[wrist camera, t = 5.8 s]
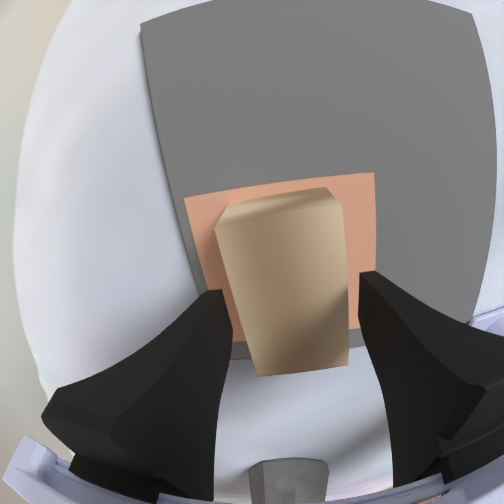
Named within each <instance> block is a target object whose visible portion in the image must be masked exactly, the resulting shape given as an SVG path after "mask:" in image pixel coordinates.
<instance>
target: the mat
mask: <svg viewBox="0 0 504 504" xmlns="http://www.w3.org/2000/svg"><path fill="white" fill-rule="evenodd" d="M140 27H141V35H142V43H143V50H144V57H145V64H146V70H147V76H148V82H149V88H150V94H151V100H152V105H153V110H154V116H155V121H156V126H157V131H158V136H159V140H160V145H161V150H162V154H163V159H164V163H165V168H166V172H167V176H168V180H169V185H170V189H171V193H172V197H173V201H174V205H175V209H176V213H177V216H178V220H179V224H180V228H181V231H182V235H183V239H184V242H185V246H186V249H187V253H188V256H189V260H190V263H191V267H192V270H193V273H194V277H195V280H196V283H197V286H198V290H199V293H200V296H201V295H202V294H203V293H204V292H205V291H206V290H215V289H222V291H223V295H224V298H225V302H226V306H227V309H228V313H229V317H230V320H231V324H232V327H233V341H232V351H231V356H230V360H237V359H252V357H251V354H250V350H249V347H248V344H247V341H246V337H245V334H244V331H243V327H242V324H241V321H240V317H239V314H238V311H237V307H236V304H235V301H234V297H233V294H232V290H231V287H230V283H229V280H228V276H227V273H226V269H225V266H224V262H223V259H222V255H221V252H220V248H219V244H218V241H217V237H216V233H215V230H214V228H215V226H216V224H217V222H218V221H219V219H220V217H221V216H222V214H223V212H224V210H225V209H226V207H227V205H228V204H229V203H231V202H236V201H242V200H247V199H252V198H258V197H263V196H269V195H275V194H281V193H287V192H293V191H299V190H305V189H312V188H319V187H325V186H326V188H327V189H328V190H329V191H330V192H331V194H332V195H333V196H334V197H335V199H336V200H337V201H338V202H339V204H340V205H341V206H342V210H343V220H344V231H345V243H346V258H347V276H348V306H349V348H353V347H359V346H365V342H364V339H363V336H362V332H361V328H360V324H359V320H358V300H359V273H360V272H367V271H374V270H375V271H377V272H378V273H380V274H381V275H383V276H384V277H386V278H387V279H388V280H390V281H391V282H393V283H394V284H396V285H397V286H398V287H400V288H401V289H403V290H404V291H406V292H407V293H409V294H410V295H412V296H413V297H415V298H416V299H418V300H420V301H421V302H423V303H425V304H426V305H428V306H430V307H431V308H433V309H435V310H437V311H439V312H441V313H443V314H445V315H447V316H449V317H451V318H453V319H455V320H457V321H460V322H462V323H463V322H467V321H470V320H471V319H472V316H473V313H474V310H475V306H476V303H477V299H478V296H479V292H480V288H481V284H482V280H483V276H484V272H485V267H486V262H487V257H488V252H489V247H490V241H491V234H492V227H493V219H494V209H495V197H496V178H497V147H496V128H495V116H494V107H493V99H492V92H491V86H490V80H489V75H488V70H487V65H486V61H485V57H484V53H483V49H482V45H481V41H480V38H479V34H478V31H477V28H476V25H475V22H474V19H473V16H472V14H471V13H468V12H465V11H462V10H459V9H456V8H453V7H450V6H447V5H443V4H440V3H436V2H432V1H428V0H213V1H209V2H205V3H201V4H197V5H194V6H190V7H187V8H183V9H180V10H177V11H174V12H171V13H168V14H165V15H162V16H159V17H157V18H154V19H151V20H149V21H146V22H144V23H141V24H140Z"/></svg>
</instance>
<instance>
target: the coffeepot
mask: <svg viewBox="0 0 504 504" xmlns="http://www.w3.org/2000/svg"><path fill="white" fill-rule="evenodd" d="M328 476H329V470H328V467H327V464H326V463H325V462H323V461H320V460H316V459H309V458H282V459H273V460H268V461H264V462H260V463H258V464H256V465H254V466H253V468H252V469H250V470H249V480H250V489H251V499H252V504H306V503H317V502H325V496H326V490H327V483H328Z"/></svg>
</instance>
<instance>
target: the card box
mask: <svg viewBox="0 0 504 504" xmlns="http://www.w3.org/2000/svg"><path fill="white" fill-rule="evenodd" d="M214 230H215V233H216V237H217V241H218V244H219V248H220V252H221V255H222V259H223V262H224V266H225V269H226V273H227V276H228V280H229V283H230V287H231V290H232V294H233V297H234V301H235V304H236V307H237V311H238V314H239V317H240V321H241V324H242V327H243V331H244V334H245V337H246V341H247V344H248V347H249V350H250V354H251V357H252V360H253V363H254V366H255V369H256V373H257V376H258V377H259V376H271V375H281V374H291V373H299V372H307V371H314V370H321V369H327V368H334V367H340V366H345V365H348V350H349V306H348V276H347V258H346V243H345V231H344V220H343V210H342V206H341V205H340V204H339V202H338V201H337V200H336V199H335V197H334V196H333V195H332V194H331V192H330V191H329V190H328V189H327V188H326V186H325V187H319V188H312V189H305V190H299V191H293V192H287V193H281V194H275V195H269V196H263V197H258V198H252V199H247V200H242V201H236V202H231V203H229V204H228V205H227V207H226V209H225V210H224V212H223V214H222V216H221V217H220V219H219V221H218V222H217V224H216V226H215V228H214Z"/></svg>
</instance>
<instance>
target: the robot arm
mask: <svg viewBox="0 0 504 504" xmlns="http://www.w3.org/2000/svg"><path fill="white" fill-rule="evenodd" d="M358 320H359V324H360V328H361V332H362V336H363V339H364V342H365V345H366V347H367V350H368V353H369V356H370V358H371V361H372V364H373V366H374V369H375V372H376V375H377V377H378V380H379V383H380V386H381V390H382V394H383V398H384V403H385V408H386V414H387V420H388V426H389V433H390V441H391V451H392V463H393V489H389V490H385V491H381V492H377V493H372V494H368V495H363V496H358V497H352V498H347V499H340V500H334V501H326V502H317V503H306V504H418V503H421V502H424V501H427V500H430V499H432V498H435V497H437V496H440V495H441V496H440V497H439V498H436V499H434V500H432V501H430V502H427V503H425V504H504V308H501V309H498V310H495V311H492V312H489V313H486V314H483V315H480V316H477V317H474V318H473V319H471V321H470V322H469V324H468V325H467V324H464V323H462V322H460V321H457V320H455V319H453V318H451V317H449V316H447V315H445V314H443V313H441V312H439V311H437V310H435V309H433V308H431V307H430V306H428V305H426V304H425V303H423V302H421V301H420V300H418V299H416V298H415V297H413V296H412V295H410V294H409V293H407V292H406V291H404V290H403V289H401V288H400V287H398V286H397V285H396V284H394V283H393V282H391V281H390V280H388V279H387V278H386V277H384V276H383V275H381V274H380V273H378V272H377V271H375V270H374V271H367V272H360V273H359V300H358ZM232 341H233V327H232V324H231V320H230V317H229V313H228V309H227V306H226V302H225V298H224V295H223V291H222V289H215V290H206V291H205V292H204V293H203V294H202V295H201V296H200V297H199V298H198V299H197V300H196V301H195V302H194V303H193V304H192V305H191V306H190V307H189V308H188V309H187V310H185V311H184V312H183V313H182V314H181V315H180V316H179V317H178V318H177V319H176V320H175V321H174V322H173V323H172V324H171V325H169V326H168V327H167V328H166V329H165V330H164V331H163V332H161V333H160V334H159V335H158V336H157V337H156V338H154V339H153V340H152V341H150V342H149V343H148V344H146V345H145V346H144V347H142V348H141V349H139V350H138V351H137V352H135V353H134V354H132V355H130V356H129V357H127V358H125V359H124V360H122V361H120V362H119V363H117V364H115V365H113V366H112V367H110V368H108V369H106V370H104V371H102V372H100V373H97V374H95V375H93V376H91V377H88V378H86V379H84V380H81V381H78V382H75V383H72V384H70V385H67V386H64V387H60V388H58V389H57V390H56V391H55V393H54V395H53V396H52V398H51V400H50V401H49V403H48V405H47V406H46V408H45V410H44V412H43V413H42V415H41V418H42V420H43V423H44V424H45V426H46V427H47V428H48V429H49V430H50V431H51V432H52V433H53V434H54V435H55V436H56V437H57V438H58V439H59V440H60V441H61V442H63V443H64V444H65V445H66V446H67V447H68V448H69V449H71V450H72V451H73V452H74V453H75V456H74V458H73V460H72V462H71V463H70V462H68V461H66V460H63V459H61V458H59V457H57V455H56V454H55V453H54V452H53V451H51V450H50V449H49V448H47V447H46V446H45V445H43V444H42V443H40V442H38V441H36V440H34V439H33V438H31V437H29V436H27V435H24V436H23V438H22V440H21V442H20V444H19V446H18V448H17V449H16V451H15V453H14V455H13V457H12V459H11V461H10V463H9V465H8V467H7V469H6V471H5V474H4V476H3V478H2V479H3V481H4V482H6V483H7V484H8V485H9V486H10V487H11V488H12V489H14V490H15V491H16V492H17V493H18V494H19V495H21V496H22V497H23V498H24V499H25V500H27V501H28V502H29V503H30V504H230V503H219V502H212V501H214V456H215V441H216V429H217V420H218V411H219V405H220V399H221V395H222V391H223V386H224V382H225V378H226V374H227V370H228V365H229V361H230V356H231V351H232Z"/></svg>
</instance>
